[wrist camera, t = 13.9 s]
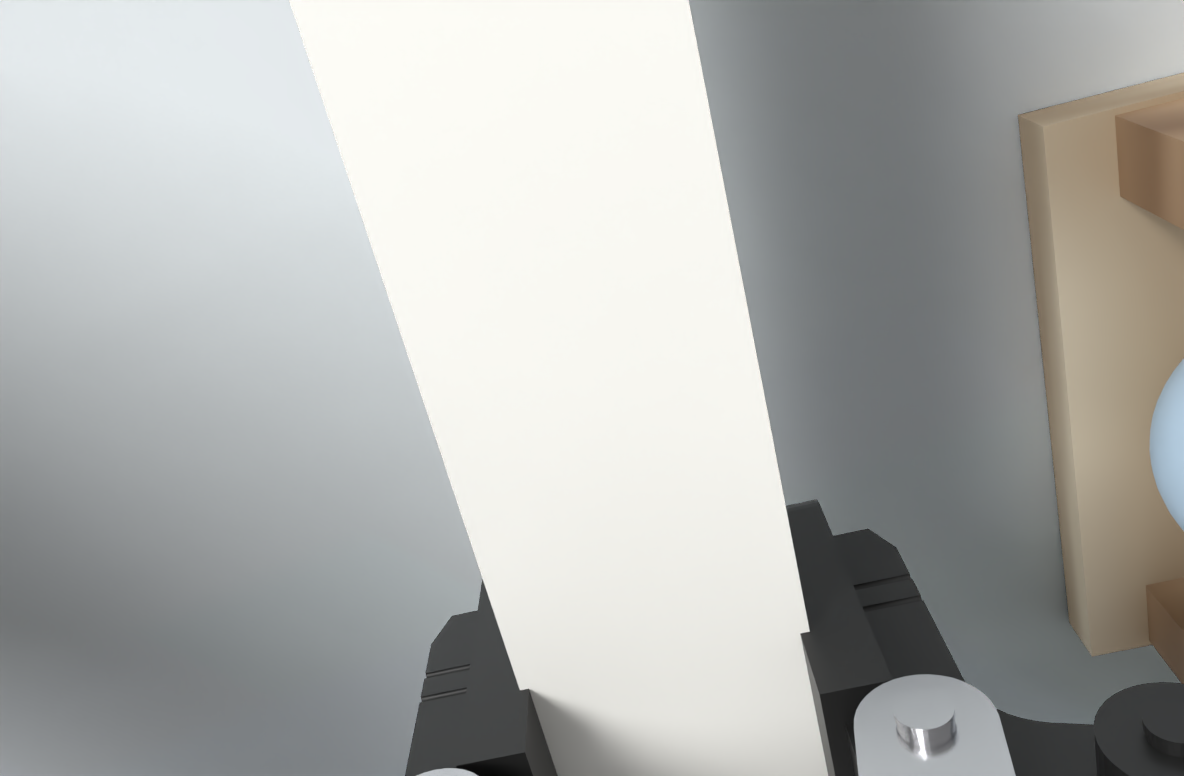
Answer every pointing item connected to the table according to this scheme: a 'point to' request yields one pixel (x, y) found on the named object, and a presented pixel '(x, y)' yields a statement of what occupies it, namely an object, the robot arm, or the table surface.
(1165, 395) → the light blue stepped block
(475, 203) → the white rectangular bar
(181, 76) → the table surface
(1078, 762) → the robot arm
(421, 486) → the table surface
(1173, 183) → the jig
